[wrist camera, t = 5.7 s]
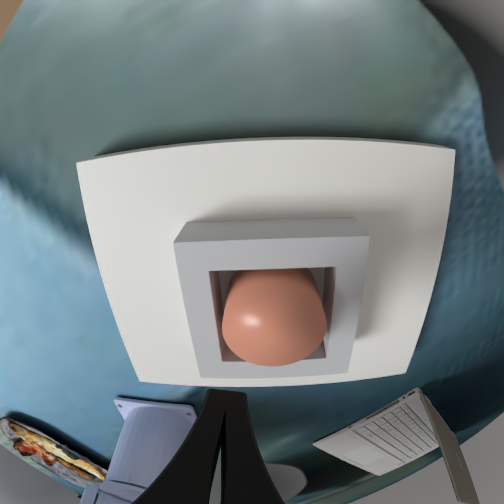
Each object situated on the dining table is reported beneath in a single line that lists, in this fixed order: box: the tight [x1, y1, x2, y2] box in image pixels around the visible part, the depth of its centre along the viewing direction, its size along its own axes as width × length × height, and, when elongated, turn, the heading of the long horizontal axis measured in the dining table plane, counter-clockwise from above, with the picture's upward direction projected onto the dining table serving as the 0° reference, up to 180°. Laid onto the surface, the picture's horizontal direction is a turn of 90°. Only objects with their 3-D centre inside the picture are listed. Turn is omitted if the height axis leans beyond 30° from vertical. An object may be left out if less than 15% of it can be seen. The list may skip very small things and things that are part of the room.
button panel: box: [76, 137, 455, 387], centre depth 16 cm, size 16×20×4 cm
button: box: [222, 268, 327, 367], centre depth 15 cm, size 5×5×3 cm
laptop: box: [313, 387, 479, 504], centre depth 22 cm, size 18×12×13 cm
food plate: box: [0, 417, 108, 489], centre depth 34 cm, size 25×23×4 cm
